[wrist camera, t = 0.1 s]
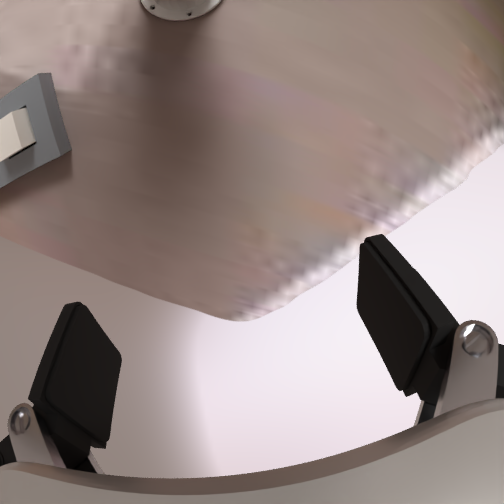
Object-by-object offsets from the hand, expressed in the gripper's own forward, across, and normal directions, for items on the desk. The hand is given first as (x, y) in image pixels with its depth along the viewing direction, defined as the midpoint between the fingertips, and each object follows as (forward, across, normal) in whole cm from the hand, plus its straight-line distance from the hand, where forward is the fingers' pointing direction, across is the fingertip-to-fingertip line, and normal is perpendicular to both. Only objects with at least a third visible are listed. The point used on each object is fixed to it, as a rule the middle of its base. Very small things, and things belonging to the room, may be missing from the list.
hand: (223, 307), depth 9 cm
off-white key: (+34, +30, -11) cm, 47 cm away
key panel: (+37, +37, -11) cm, 53 cm away
